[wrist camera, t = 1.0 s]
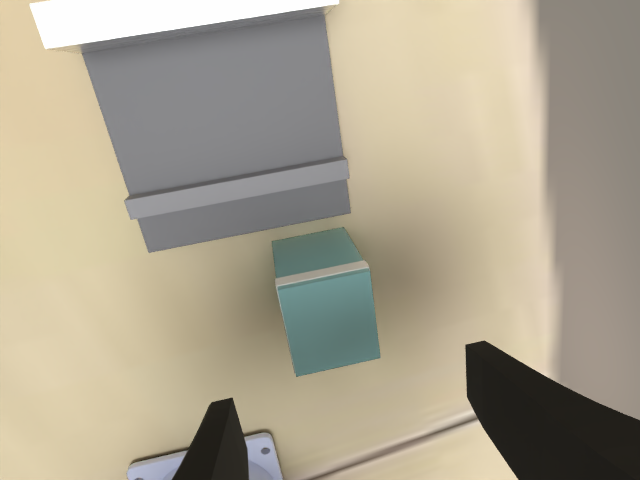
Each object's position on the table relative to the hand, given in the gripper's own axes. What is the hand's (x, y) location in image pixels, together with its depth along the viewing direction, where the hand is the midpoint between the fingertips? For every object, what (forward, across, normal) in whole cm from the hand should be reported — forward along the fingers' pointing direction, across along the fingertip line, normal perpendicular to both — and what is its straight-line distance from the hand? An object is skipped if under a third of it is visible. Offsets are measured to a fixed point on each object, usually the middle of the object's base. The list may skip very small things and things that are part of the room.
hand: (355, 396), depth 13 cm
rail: (+9, +2, -12) cm, 15 cm away
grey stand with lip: (+9, +2, -8) cm, 12 cm away
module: (+9, 0, 0) cm, 9 cm away
